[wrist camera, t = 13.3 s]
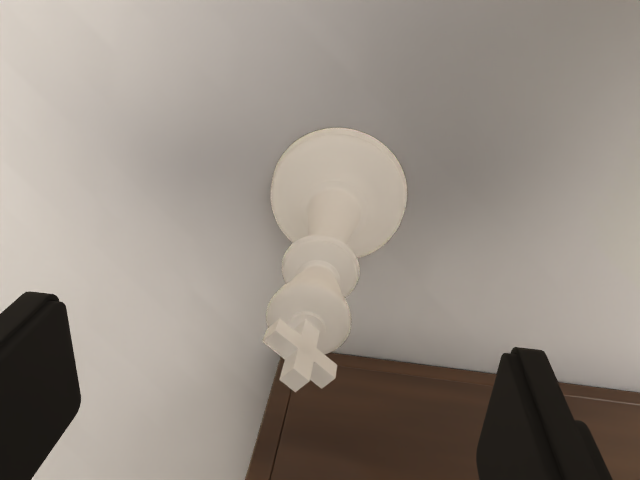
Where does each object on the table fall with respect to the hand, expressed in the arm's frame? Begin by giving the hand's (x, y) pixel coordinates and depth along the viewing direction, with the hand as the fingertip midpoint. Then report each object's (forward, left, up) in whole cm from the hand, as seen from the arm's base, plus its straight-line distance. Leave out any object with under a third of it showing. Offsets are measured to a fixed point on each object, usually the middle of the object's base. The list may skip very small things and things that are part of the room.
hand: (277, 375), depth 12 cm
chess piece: (0, 0, -10) cm, 10 cm away
